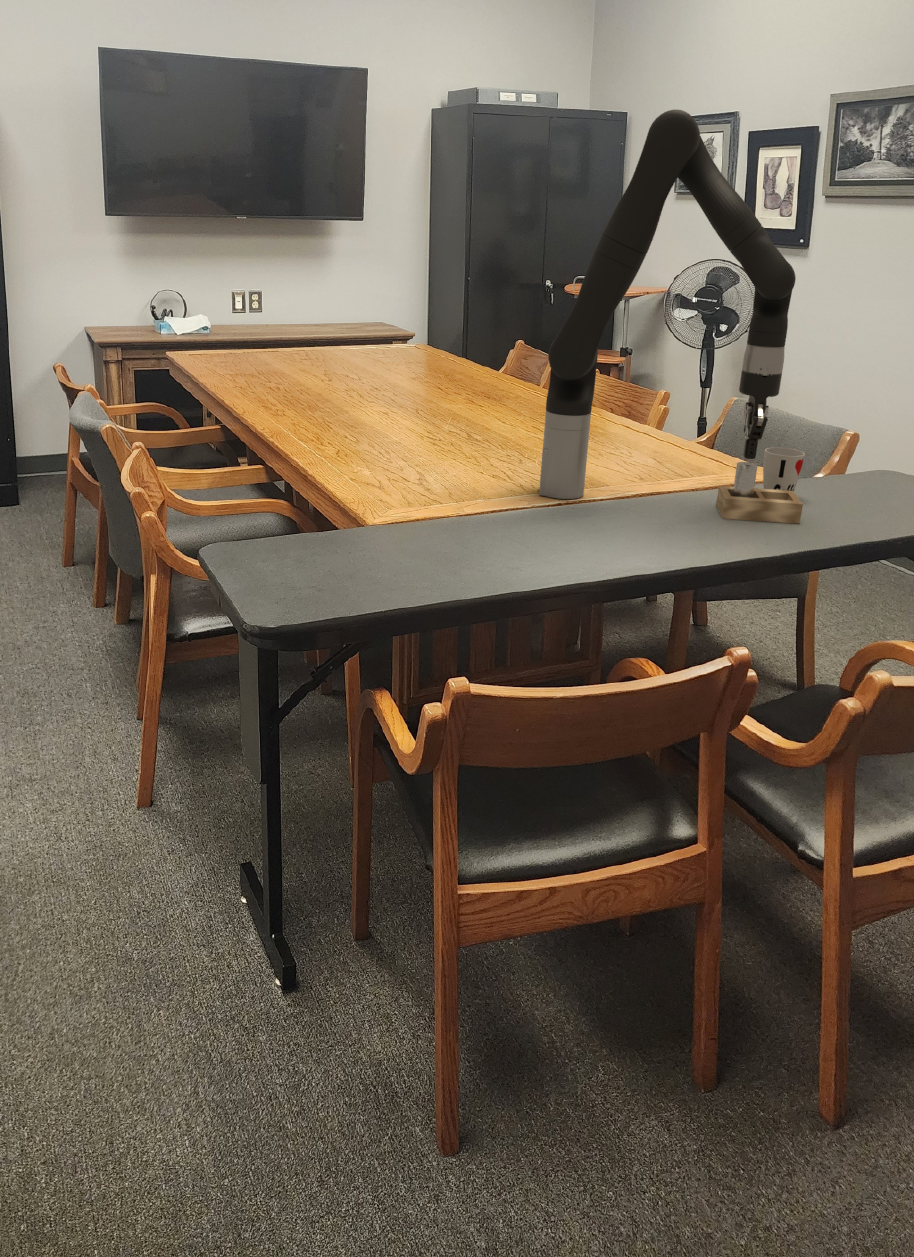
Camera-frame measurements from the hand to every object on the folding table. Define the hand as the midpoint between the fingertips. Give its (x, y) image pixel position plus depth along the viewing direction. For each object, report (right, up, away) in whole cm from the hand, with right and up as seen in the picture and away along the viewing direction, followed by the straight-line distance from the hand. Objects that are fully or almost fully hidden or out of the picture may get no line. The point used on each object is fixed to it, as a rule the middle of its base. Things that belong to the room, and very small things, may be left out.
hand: (749, 457), depth 210 cm
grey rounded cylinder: (-1, -10, +4) cm, 11 cm away
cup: (+11, -6, +17) cm, 21 cm away
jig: (+3, -11, +4) cm, 12 cm away
